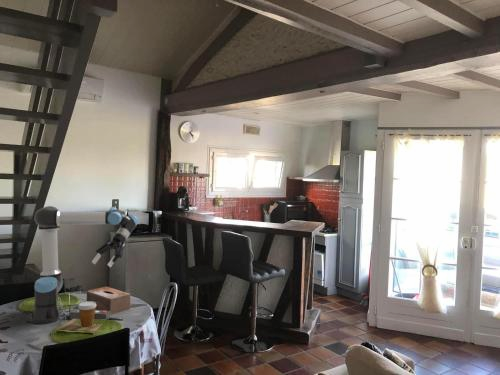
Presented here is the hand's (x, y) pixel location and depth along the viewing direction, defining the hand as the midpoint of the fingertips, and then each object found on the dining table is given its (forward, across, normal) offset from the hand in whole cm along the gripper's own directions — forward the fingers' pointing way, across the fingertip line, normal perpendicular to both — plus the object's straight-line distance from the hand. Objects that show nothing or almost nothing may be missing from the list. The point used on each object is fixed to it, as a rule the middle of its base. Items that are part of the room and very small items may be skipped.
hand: (100, 264), depth 237 cm
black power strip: (+24, 0, -21) cm, 32 cm away
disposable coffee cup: (+32, -7, -11) cm, 35 cm away
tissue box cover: (+12, +10, -34) cm, 37 cm away
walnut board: (+33, -5, -12) cm, 36 cm away
